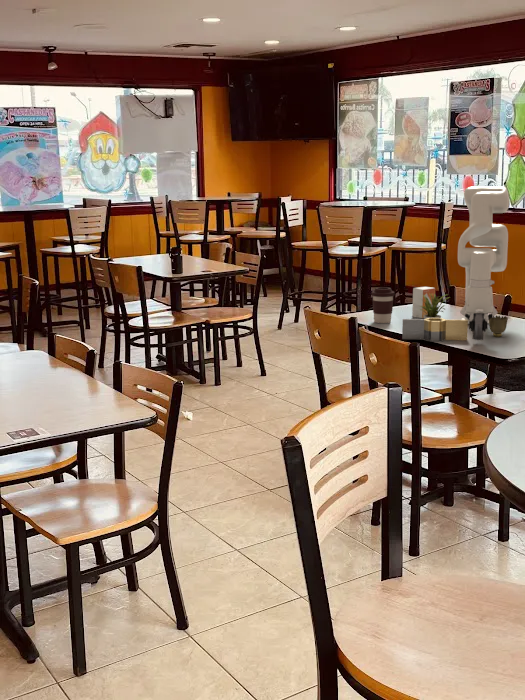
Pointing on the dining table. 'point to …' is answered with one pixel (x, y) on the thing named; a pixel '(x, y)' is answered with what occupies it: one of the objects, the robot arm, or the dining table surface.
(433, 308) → the house plant
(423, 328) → the hinge
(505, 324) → the cup
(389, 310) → the coffee cup
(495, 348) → the dining table surface
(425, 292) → the small box
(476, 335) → the hinge pin
